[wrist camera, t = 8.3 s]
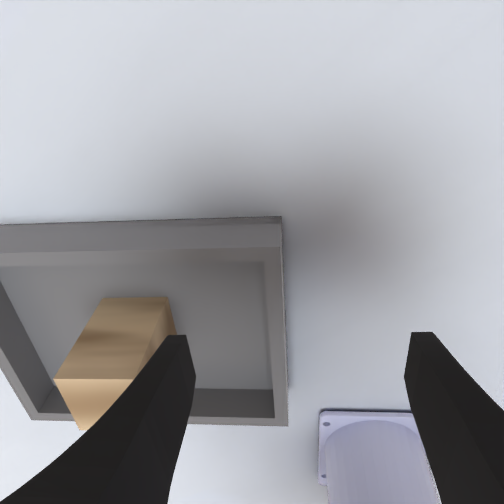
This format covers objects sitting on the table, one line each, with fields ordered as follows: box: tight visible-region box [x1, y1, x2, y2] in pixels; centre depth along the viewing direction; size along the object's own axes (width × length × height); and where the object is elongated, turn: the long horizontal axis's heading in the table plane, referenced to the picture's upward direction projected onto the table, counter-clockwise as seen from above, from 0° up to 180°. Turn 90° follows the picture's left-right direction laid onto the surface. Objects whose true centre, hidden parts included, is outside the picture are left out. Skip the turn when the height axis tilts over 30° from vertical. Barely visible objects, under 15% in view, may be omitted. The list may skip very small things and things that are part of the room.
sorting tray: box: [0, 216, 288, 426], centre depth 24 cm, size 14×18×3 cm
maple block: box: [53, 297, 177, 430], centre depth 22 cm, size 4×4×6 cm
